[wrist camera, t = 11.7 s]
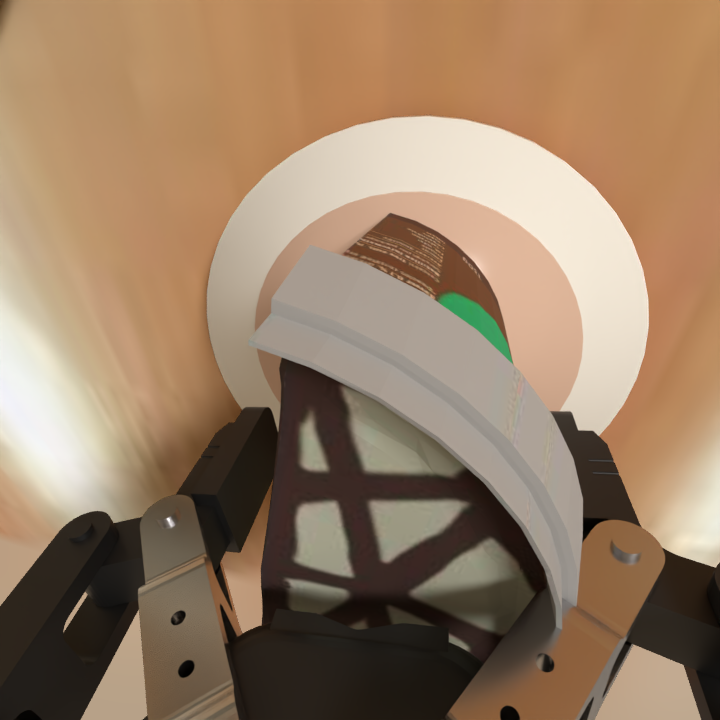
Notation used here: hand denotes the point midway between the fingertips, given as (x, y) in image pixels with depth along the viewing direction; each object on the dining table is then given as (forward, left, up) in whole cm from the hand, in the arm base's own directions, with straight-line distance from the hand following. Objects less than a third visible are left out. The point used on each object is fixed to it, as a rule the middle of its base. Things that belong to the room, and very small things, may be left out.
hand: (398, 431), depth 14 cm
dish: (0, 0, -6) cm, 6 cm away
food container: (+1, 0, -4) cm, 4 cm away
